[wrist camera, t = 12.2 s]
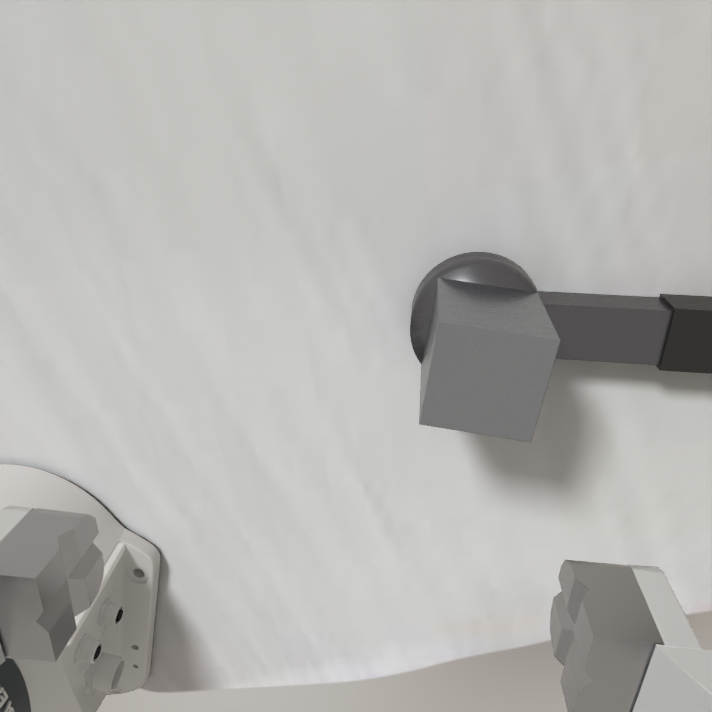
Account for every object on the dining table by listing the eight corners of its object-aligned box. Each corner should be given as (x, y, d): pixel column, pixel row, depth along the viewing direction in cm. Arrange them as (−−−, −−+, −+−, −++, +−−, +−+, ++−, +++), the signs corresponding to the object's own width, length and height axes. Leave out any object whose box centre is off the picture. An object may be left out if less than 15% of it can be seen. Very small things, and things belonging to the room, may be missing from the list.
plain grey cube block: (514, 380, 32) (530, 442, 27) (421, 365, 33) (419, 424, 27) (537, 292, 30) (560, 340, 25) (437, 277, 30) (438, 321, 25)
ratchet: (751, 388, 34) (808, 445, 29) (408, 366, 35) (404, 415, 30) (792, 266, 31) (864, 305, 26) (415, 248, 33) (412, 282, 27)
